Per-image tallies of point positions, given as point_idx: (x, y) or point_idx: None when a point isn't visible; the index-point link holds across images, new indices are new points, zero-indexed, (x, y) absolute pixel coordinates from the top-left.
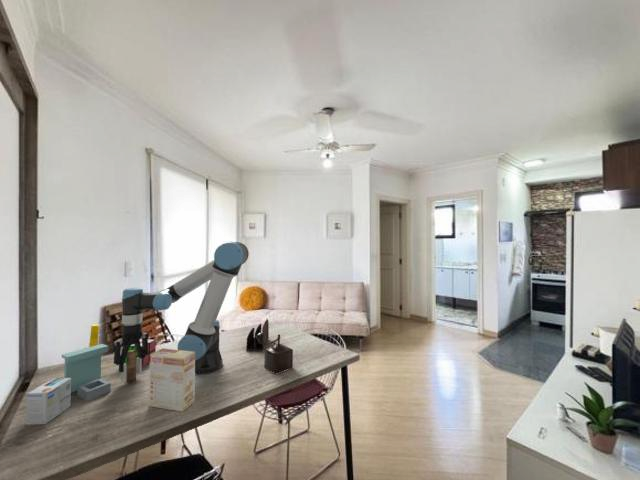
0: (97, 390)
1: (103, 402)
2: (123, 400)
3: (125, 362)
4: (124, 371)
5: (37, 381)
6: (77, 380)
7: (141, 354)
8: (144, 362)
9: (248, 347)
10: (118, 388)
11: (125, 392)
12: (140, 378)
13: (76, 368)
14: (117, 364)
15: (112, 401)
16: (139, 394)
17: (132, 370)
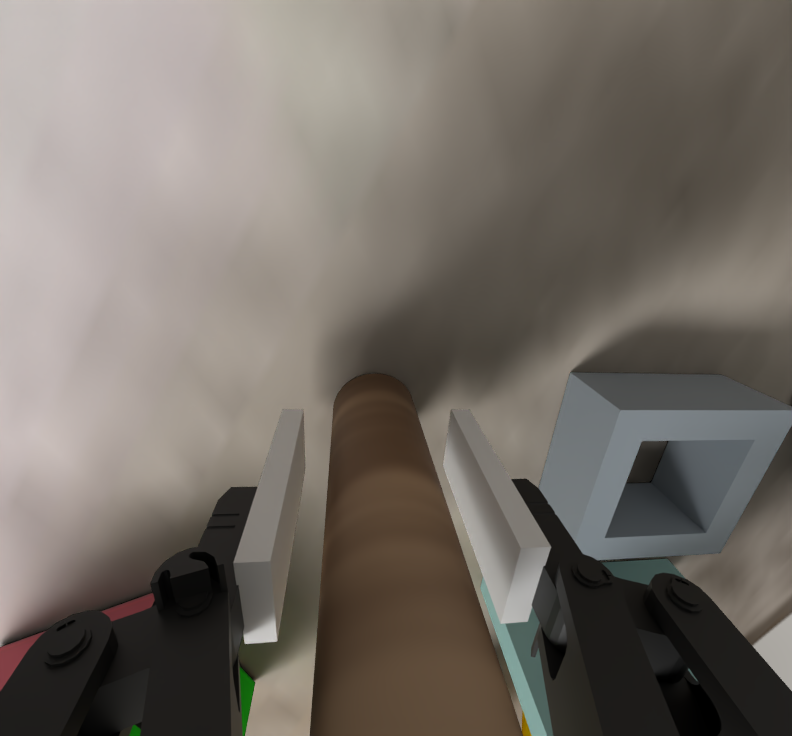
0: (704, 398)
1: (727, 231)
2: (674, 67)
3: (242, 702)
4: (500, 467)
5: None
6: None
7: (203, 669)
8: None
9: None
10: (510, 368)
11: (544, 231)
12: (297, 387)
13: None
14: (683, 584)
15: (704, 167)
16: (530, 11)
17: (402, 444)
